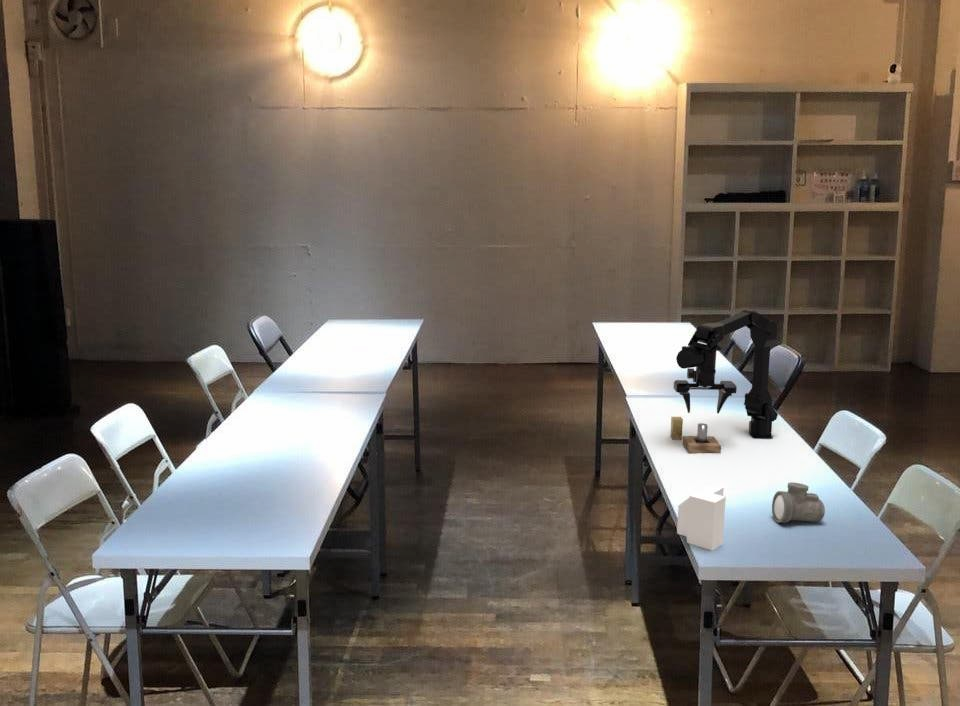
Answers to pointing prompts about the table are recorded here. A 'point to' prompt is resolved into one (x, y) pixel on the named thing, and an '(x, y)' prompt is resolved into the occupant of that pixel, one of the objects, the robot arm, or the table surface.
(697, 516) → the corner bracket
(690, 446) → the bore block
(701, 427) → the cylinder
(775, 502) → the pipe fitting
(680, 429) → the square bit
